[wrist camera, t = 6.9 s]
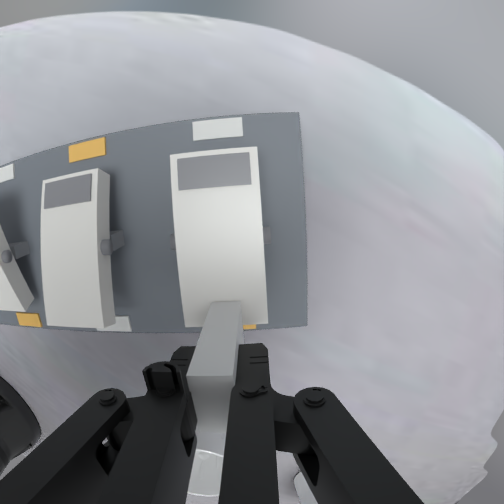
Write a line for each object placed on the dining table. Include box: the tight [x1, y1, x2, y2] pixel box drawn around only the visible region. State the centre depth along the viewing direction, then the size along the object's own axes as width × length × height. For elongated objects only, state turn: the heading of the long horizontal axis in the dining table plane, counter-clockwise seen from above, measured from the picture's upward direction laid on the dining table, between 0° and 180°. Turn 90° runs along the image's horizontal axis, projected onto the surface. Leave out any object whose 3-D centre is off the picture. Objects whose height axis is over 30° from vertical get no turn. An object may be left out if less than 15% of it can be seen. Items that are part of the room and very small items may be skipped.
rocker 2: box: [40, 168, 116, 328], centre depth 16 cm, size 5×9×2 cm, turn 4°
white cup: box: [187, 425, 226, 496], centre depth 24 cm, size 8×8×10 cm
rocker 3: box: [170, 147, 271, 327], centre depth 16 cm, size 5×9×2 cm, turn 4°
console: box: [0, 112, 307, 333], centre depth 21 cm, size 28×14×8 cm, turn 94°
